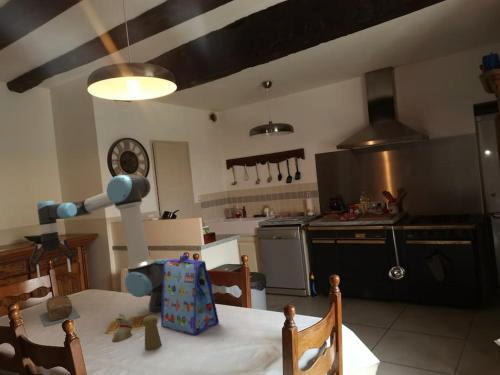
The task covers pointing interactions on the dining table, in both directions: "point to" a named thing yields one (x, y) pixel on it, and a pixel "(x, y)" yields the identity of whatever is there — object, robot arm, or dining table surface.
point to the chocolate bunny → (122, 328)
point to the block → (59, 307)
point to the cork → (151, 333)
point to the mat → (49, 322)
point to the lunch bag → (187, 296)
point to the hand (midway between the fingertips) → (54, 275)
